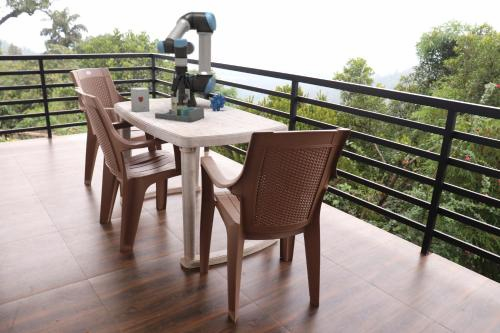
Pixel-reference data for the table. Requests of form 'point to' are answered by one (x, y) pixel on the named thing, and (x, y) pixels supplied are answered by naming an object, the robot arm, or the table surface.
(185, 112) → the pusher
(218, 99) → the grapes
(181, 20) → the robot arm
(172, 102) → the coffee can
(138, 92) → the supplement box
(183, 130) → the table surface
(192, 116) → the lane
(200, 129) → the table surface
